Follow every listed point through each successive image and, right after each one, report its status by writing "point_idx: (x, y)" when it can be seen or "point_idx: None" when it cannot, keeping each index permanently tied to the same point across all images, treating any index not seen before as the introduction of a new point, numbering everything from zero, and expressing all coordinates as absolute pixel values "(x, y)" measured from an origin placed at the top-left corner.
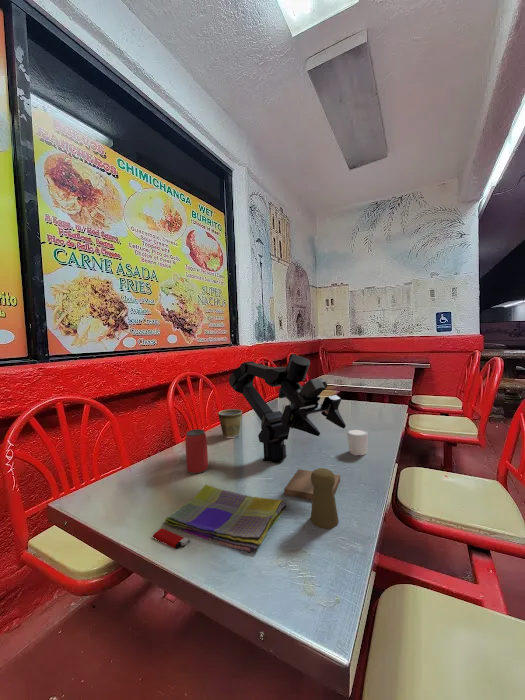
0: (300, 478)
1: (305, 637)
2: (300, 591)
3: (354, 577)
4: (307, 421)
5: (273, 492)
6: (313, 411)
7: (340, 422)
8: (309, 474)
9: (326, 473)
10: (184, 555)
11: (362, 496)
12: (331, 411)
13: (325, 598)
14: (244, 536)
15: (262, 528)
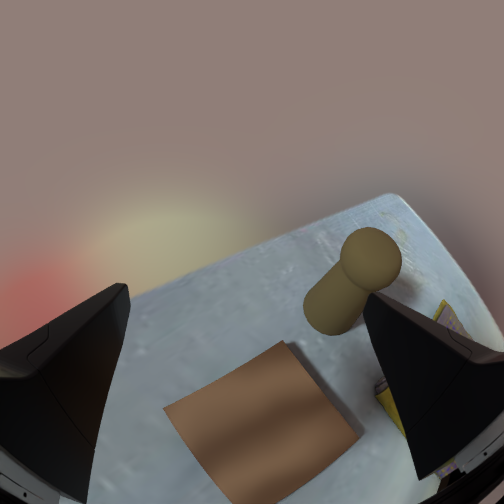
0: (285, 469)
1: (414, 213)
2: (409, 238)
3: (355, 216)
4: (460, 336)
5: (367, 458)
6: None
7: (114, 316)
8: (242, 474)
9: (376, 233)
10: (494, 343)
11: (190, 318)
12: (40, 431)
13: (391, 221)
14: (458, 320)
15: (440, 319)
